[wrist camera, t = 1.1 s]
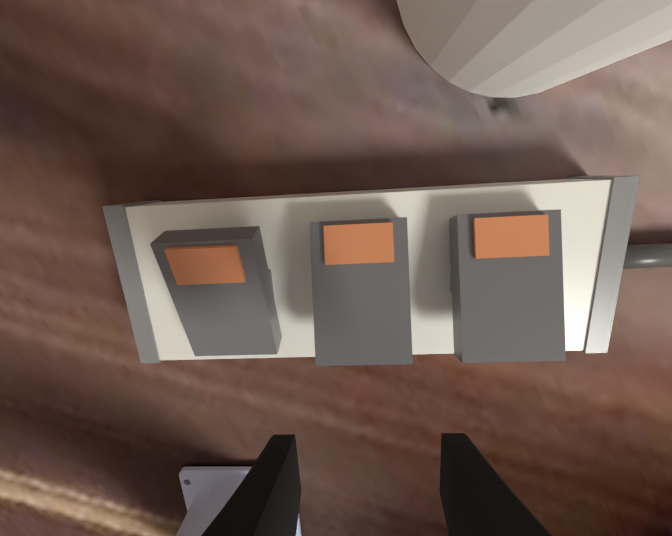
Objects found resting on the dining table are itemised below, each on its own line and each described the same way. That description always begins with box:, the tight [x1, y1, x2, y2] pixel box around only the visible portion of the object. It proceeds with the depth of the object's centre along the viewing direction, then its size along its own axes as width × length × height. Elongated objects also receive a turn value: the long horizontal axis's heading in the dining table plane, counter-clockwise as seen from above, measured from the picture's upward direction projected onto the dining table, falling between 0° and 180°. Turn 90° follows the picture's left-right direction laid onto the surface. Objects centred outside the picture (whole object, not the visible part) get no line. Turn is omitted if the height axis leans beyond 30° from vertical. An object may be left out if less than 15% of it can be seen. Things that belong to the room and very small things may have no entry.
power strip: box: [102, 176, 672, 363], centre depth 17 cm, size 8×29×4 cm, turn 93°
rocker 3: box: [449, 209, 566, 363], centre depth 14 cm, size 6×4×1 cm, turn 3°
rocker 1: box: [150, 226, 282, 356], centre depth 14 cm, size 6×4×1 cm, turn 3°
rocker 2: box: [309, 217, 413, 366], centre depth 14 cm, size 6×4×1 cm, turn 4°
